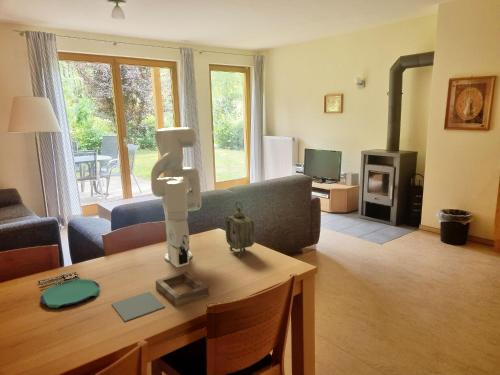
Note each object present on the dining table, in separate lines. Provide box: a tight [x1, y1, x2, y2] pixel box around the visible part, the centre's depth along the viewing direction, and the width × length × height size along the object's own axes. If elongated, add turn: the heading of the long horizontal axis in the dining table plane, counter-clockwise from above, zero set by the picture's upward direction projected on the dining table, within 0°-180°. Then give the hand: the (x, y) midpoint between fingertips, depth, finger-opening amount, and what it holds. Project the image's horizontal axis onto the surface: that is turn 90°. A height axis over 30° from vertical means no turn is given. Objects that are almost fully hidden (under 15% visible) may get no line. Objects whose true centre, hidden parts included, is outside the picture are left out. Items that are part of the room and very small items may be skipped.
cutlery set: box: [37, 271, 101, 309], centre depth 138 cm, size 20×30×2 cm, turn 39°
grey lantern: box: [224, 201, 256, 258], centre depth 170 cm, size 14×9×25 cm, turn 27°
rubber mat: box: [111, 291, 166, 323], centre depth 126 cm, size 14×14×1 cm
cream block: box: [170, 244, 190, 268], centre depth 134 cm, size 5×5×7 cm
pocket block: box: [155, 270, 210, 307], centre depth 136 cm, size 18×13×3 cm
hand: (179, 260), depth 134 cm, fingers closed on cream block, 5 cm apart
